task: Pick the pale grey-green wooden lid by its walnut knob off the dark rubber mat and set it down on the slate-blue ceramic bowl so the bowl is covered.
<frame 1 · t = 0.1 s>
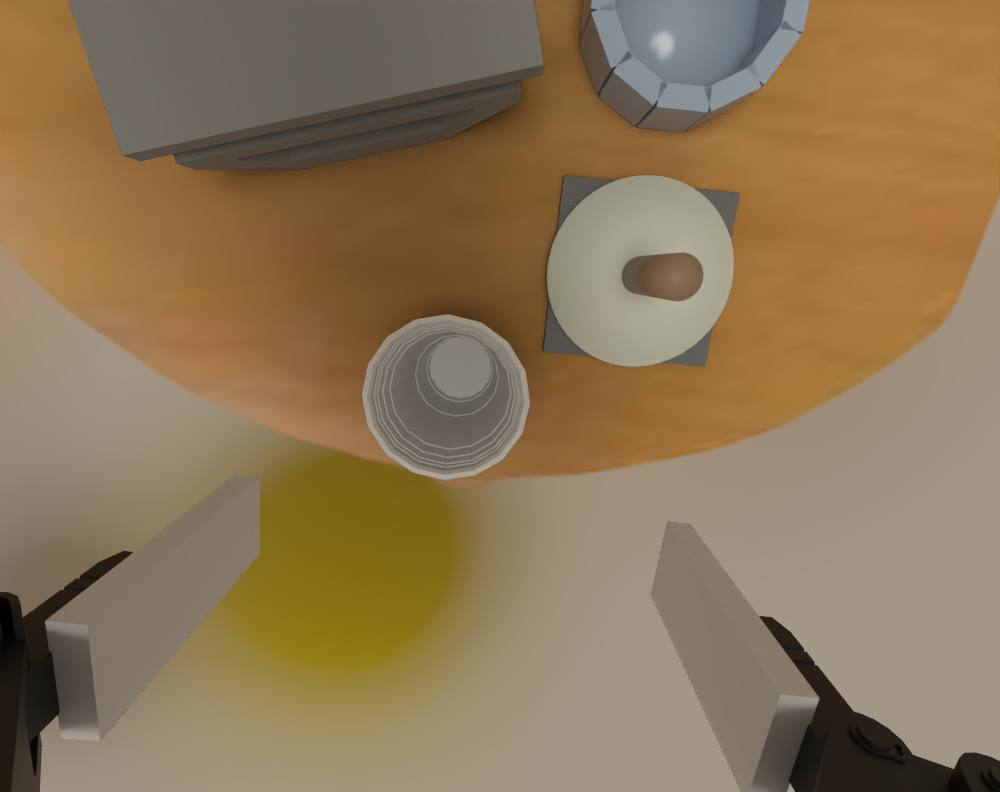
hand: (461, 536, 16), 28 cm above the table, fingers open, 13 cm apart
lid: (637, 275, 40), resting on mat
bowl: (675, 25, 36), on the table
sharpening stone: (363, 100, 38), on the table
mat: (636, 275, 41), on the table
plastic cup: (460, 364, 43), on the table
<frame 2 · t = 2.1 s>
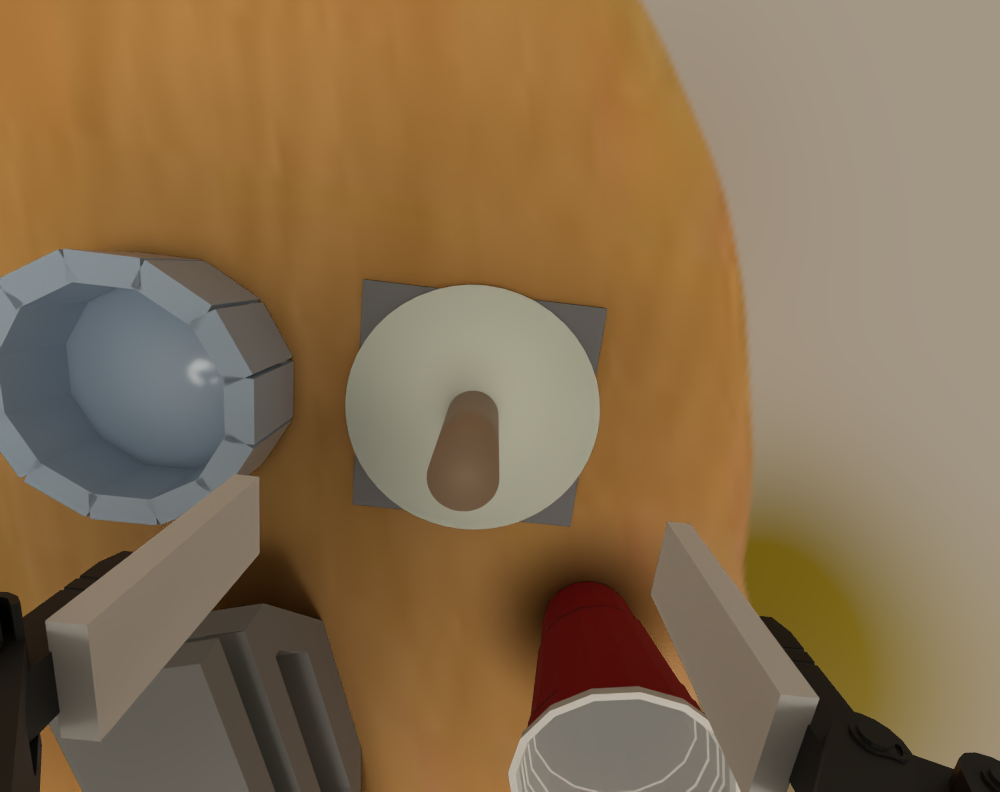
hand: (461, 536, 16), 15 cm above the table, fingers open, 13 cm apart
lid: (473, 411, 30), resting on mat
bowl: (176, 376, 29), on the table
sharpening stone: (291, 692, 36), on the table
mat: (473, 409, 30), on the table
plastic cup: (581, 614, 34), on the table
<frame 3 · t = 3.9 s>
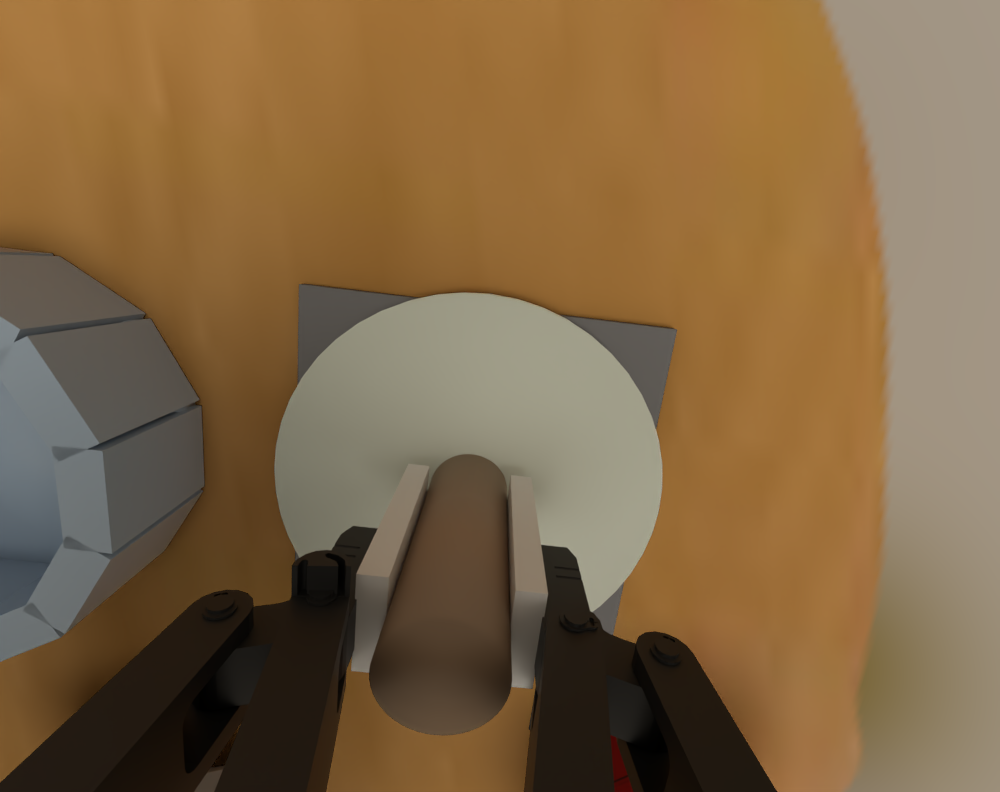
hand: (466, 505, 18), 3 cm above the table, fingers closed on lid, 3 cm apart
lid: (469, 481, 20), point 1 cm above the table, touching gripper, mat
bowl: (28, 427, 20), on the table
mat: (471, 476, 20), on the table
plastic cup: (623, 754, 24), on the table
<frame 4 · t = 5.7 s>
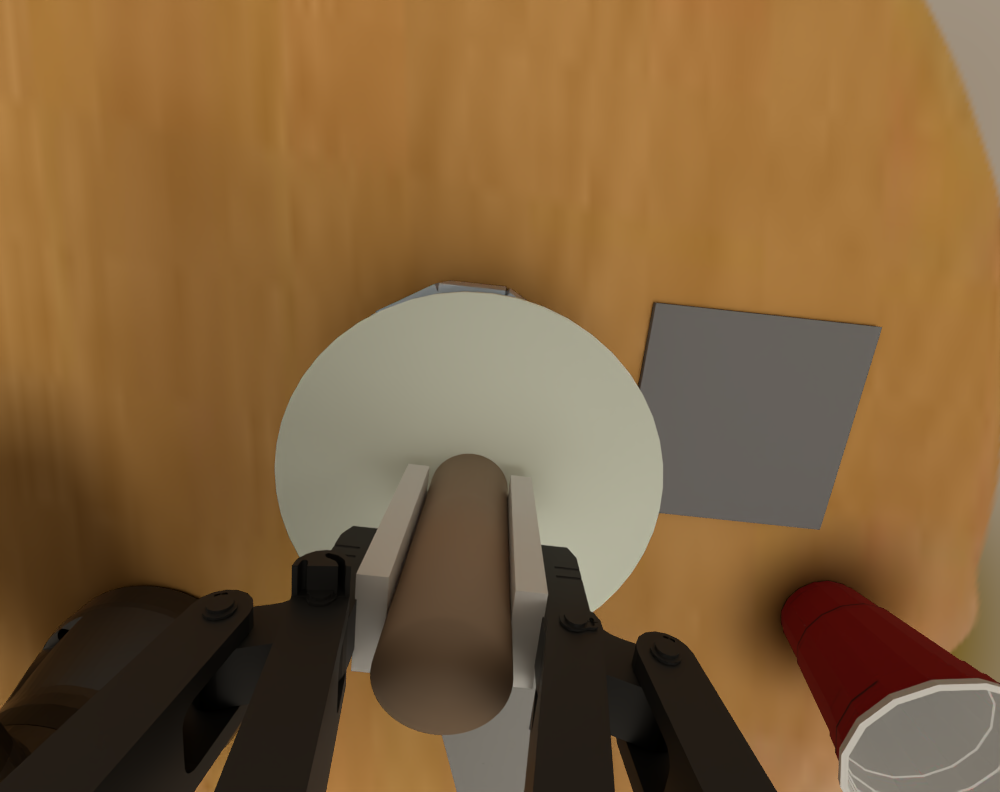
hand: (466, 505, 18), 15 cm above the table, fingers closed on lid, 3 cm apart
lid: (470, 481, 20), point 13 cm above the table, touching gripper
bowl: (468, 391, 32), on the table
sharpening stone: (531, 681, 38), on the table
mat: (739, 420, 32), on the table
plastic cup: (814, 611, 36), on the table
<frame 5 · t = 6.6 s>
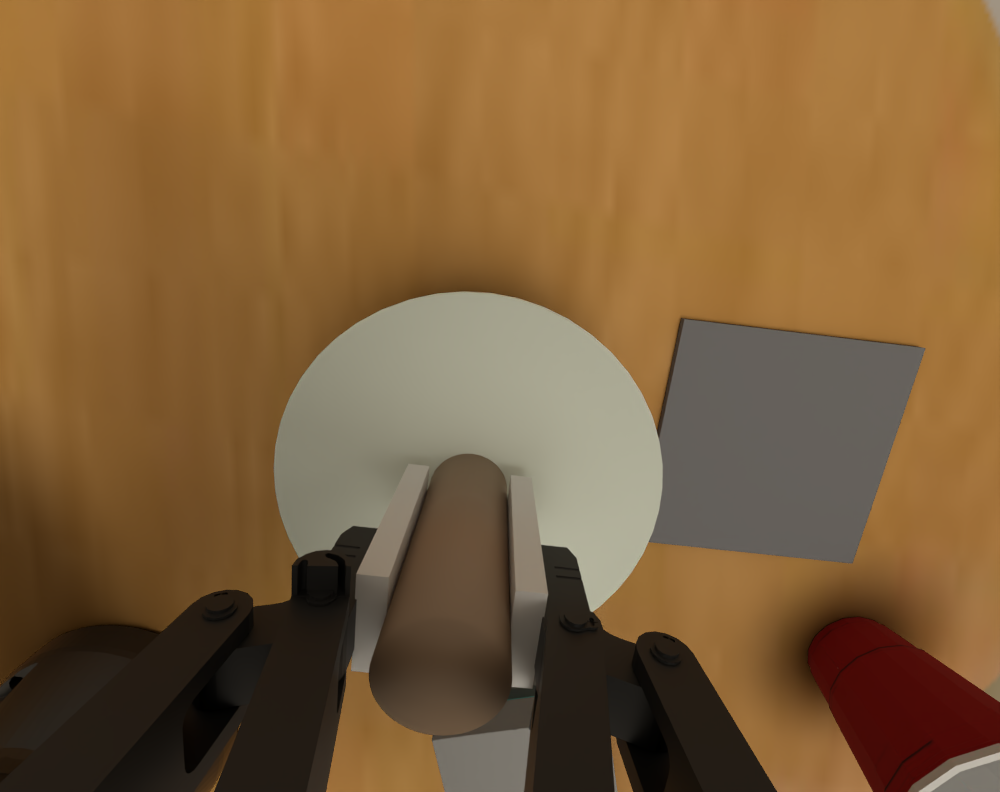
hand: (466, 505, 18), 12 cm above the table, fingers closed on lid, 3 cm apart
lid: (469, 481, 20), point 10 cm above the table, touching gripper
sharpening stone: (539, 725, 35), on the table
mat: (769, 446, 30), on the table
plastic cup: (843, 648, 34), on the table
when the fingers open (8 cm above the table, at t = 7.4 s): lid drops 1 cm, resting on bowl.
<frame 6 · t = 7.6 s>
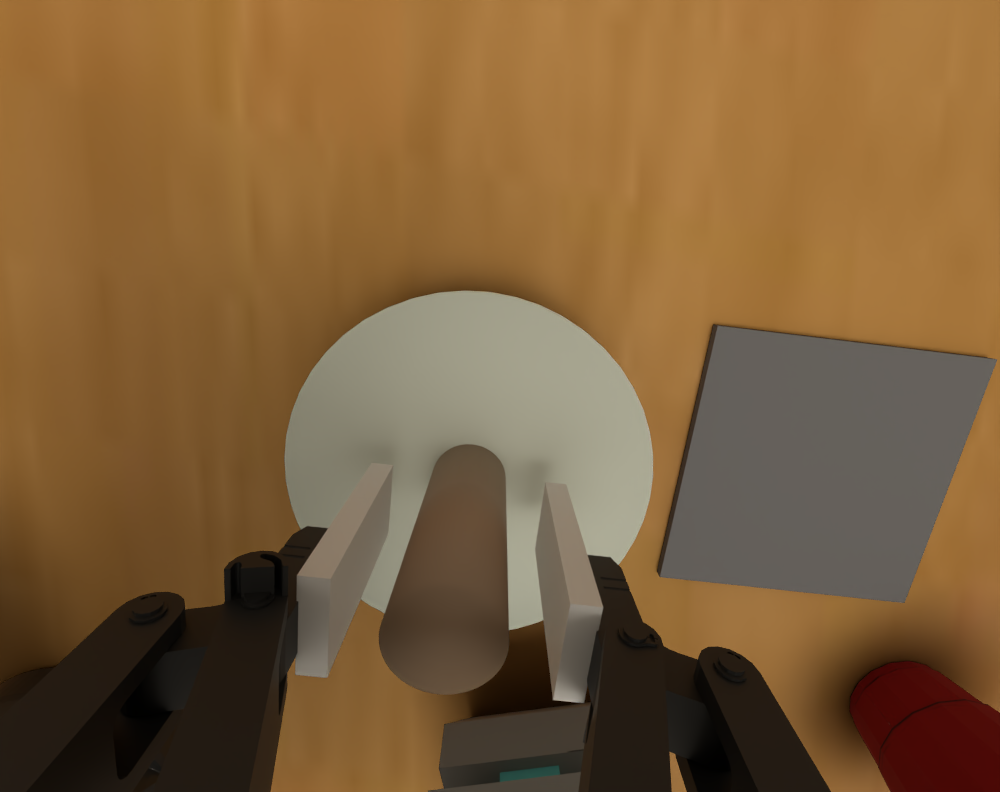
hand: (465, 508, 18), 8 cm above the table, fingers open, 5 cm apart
lid: (470, 470, 21), point 5 cm above the table, touching bowl
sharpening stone: (546, 776, 32), on the table
mat: (812, 471, 26), on the table
plastic cup: (889, 695, 30), on the table
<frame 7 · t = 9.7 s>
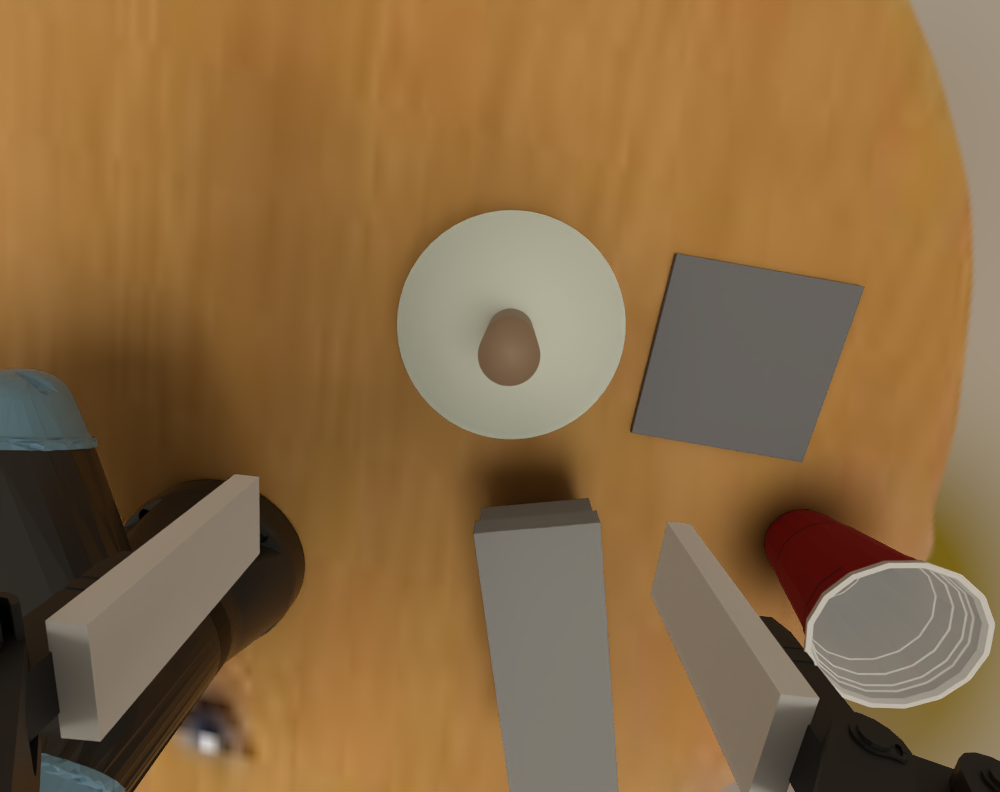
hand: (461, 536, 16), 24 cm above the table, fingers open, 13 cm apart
lid: (510, 330, 33), point 5 cm above the table, touching bowl
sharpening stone: (544, 588, 44), on the table
mat: (739, 361, 38), on the table
plastic cup: (793, 537, 42), on the table
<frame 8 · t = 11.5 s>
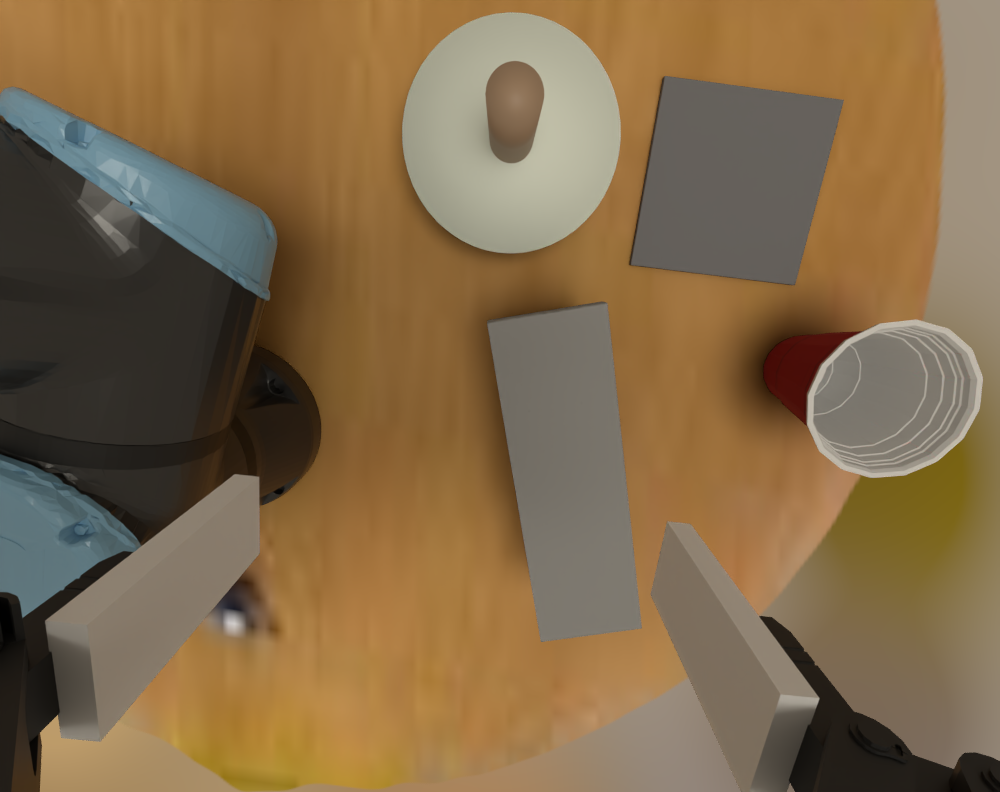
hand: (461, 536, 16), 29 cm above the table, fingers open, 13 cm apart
lid: (511, 142, 34), point 5 cm above the table, touching bowl
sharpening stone: (554, 436, 45), on the table
mat: (730, 186, 40), on the table
plastic cup: (790, 367, 44), on the table
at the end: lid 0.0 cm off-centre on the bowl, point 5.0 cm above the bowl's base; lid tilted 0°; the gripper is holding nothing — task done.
